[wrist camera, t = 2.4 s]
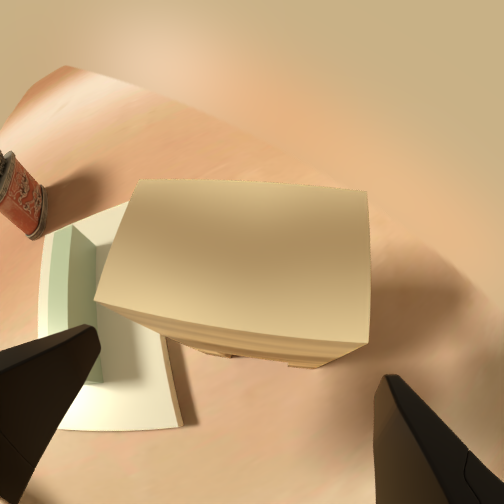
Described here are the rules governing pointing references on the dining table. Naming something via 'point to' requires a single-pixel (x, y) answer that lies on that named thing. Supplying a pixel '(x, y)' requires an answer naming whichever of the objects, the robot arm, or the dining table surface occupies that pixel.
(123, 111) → the dining table surface
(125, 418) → the white and green block
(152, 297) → the birch slotted block
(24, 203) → the lighter
